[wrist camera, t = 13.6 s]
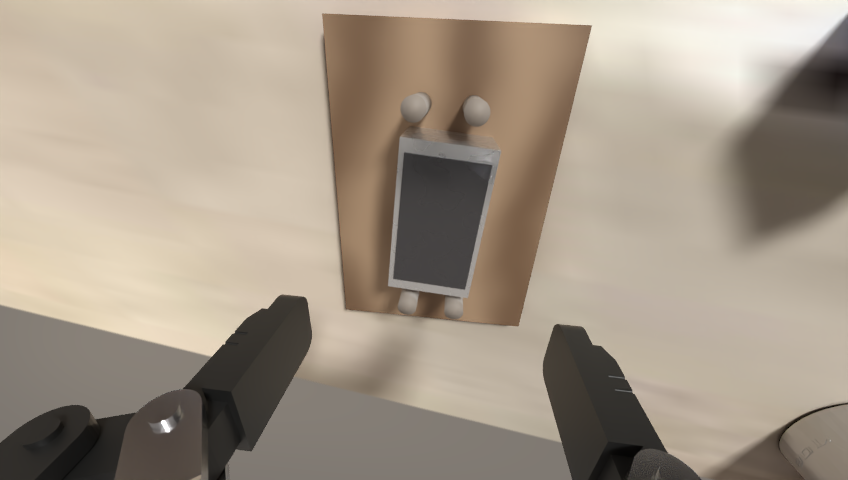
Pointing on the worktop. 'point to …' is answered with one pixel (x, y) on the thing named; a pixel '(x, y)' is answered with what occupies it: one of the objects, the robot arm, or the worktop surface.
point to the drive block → (440, 209)
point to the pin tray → (456, 112)
